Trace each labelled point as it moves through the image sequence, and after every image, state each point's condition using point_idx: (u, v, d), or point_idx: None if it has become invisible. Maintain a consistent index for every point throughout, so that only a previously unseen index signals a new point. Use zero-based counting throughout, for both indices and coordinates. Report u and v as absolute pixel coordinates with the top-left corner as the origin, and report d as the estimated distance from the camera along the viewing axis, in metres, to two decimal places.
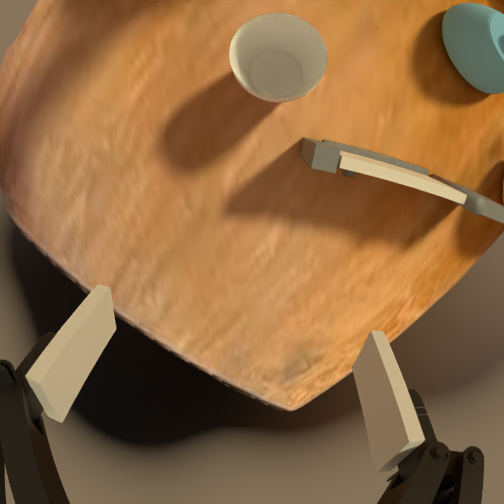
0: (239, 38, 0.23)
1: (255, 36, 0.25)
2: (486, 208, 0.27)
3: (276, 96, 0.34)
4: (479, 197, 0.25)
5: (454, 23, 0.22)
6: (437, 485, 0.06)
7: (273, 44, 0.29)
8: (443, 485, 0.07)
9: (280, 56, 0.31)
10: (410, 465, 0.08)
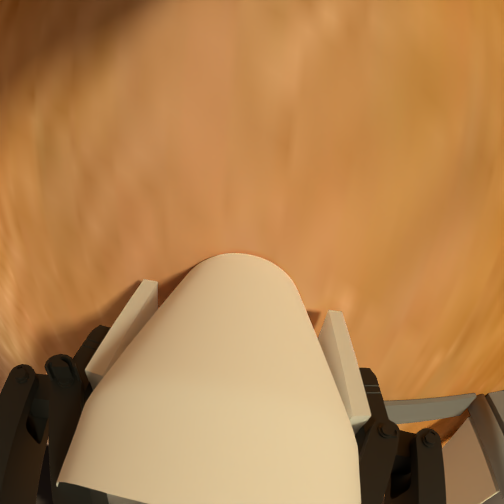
0: None
1: None
2: None
3: None
4: None
5: None
6: (390, 464, 0.07)
7: None
8: (398, 468, 0.08)
9: None
10: (358, 445, 0.09)
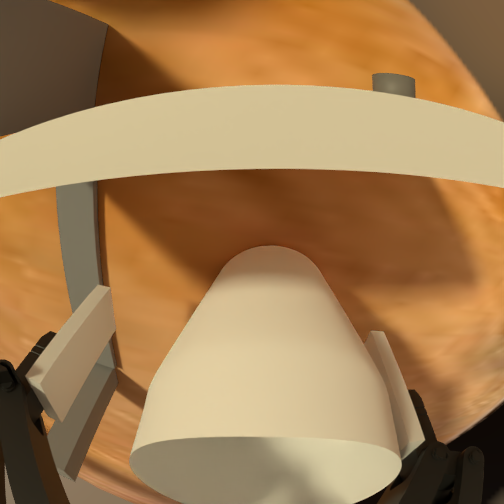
0: (156, 373, 0.09)
1: None
2: None
3: None
4: None
5: None
6: (437, 485, 0.06)
7: None
8: (443, 485, 0.07)
9: None
10: (410, 465, 0.08)
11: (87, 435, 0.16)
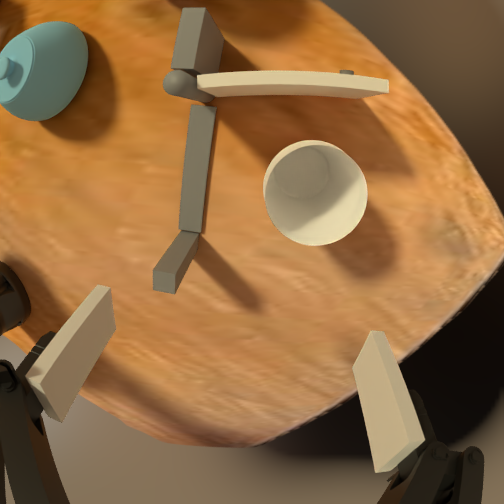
0: (272, 160, 0.26)
1: None
2: (184, 58, 0.20)
3: (301, 196, 0.36)
4: (164, 85, 0.20)
5: (29, 119, 0.28)
6: (437, 485, 0.06)
7: None
8: (443, 485, 0.07)
9: (307, 152, 0.33)
10: (410, 465, 0.08)
11: (185, 265, 0.33)
